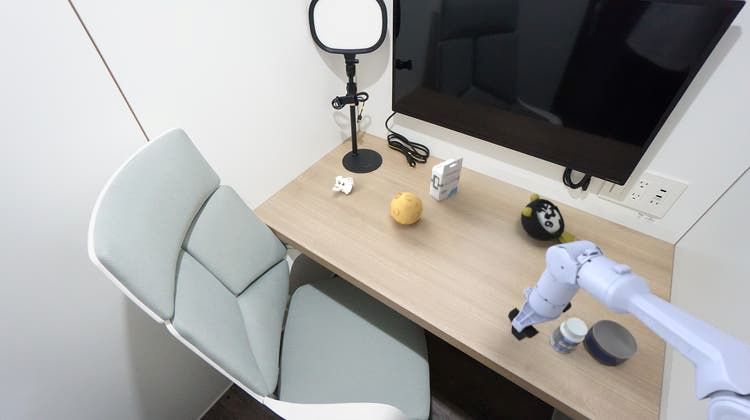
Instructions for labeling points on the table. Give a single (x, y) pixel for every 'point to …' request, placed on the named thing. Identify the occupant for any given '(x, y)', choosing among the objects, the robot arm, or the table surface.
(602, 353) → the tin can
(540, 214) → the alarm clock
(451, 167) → the ink box
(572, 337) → the pill bottle
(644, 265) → the table surface
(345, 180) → the anatomical pelvis
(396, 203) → the stress ball
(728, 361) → the robot arm
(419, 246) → the table surface
